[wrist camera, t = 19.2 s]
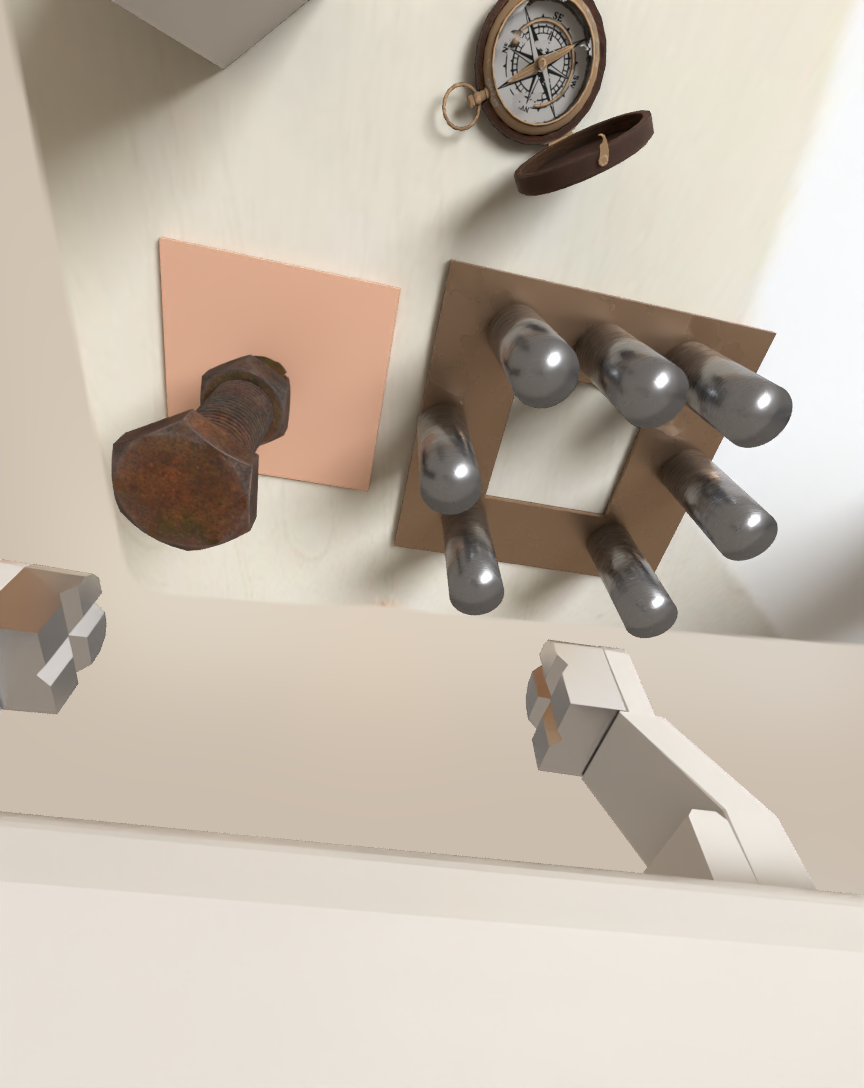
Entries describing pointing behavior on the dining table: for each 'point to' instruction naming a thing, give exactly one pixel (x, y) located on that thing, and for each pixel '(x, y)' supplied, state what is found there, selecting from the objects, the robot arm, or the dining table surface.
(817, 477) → the dining table surface
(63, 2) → the dining table surface
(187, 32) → the perfume bottle
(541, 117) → the compass
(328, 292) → the pad
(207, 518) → the bolt
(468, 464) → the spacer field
